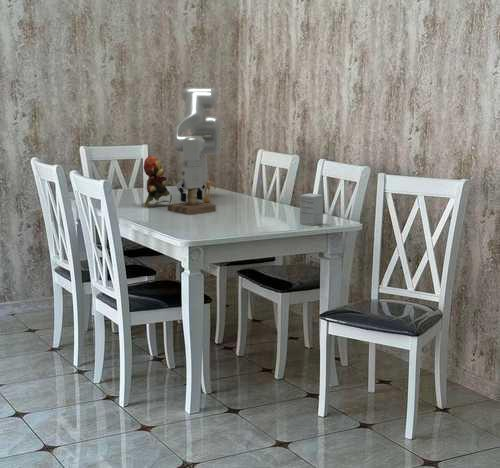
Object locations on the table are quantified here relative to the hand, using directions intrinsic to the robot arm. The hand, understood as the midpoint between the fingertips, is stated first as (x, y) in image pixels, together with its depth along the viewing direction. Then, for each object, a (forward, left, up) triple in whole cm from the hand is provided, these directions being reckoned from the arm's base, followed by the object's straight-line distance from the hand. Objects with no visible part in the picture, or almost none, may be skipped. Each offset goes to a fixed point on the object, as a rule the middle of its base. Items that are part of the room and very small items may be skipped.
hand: (191, 200), depth 386 cm
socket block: (0, 0, -5) cm, 5 cm away
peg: (0, 0, -5) cm, 5 cm away
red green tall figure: (-23, -3, -5) cm, 24 cm away
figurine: (-14, +22, -5) cm, 27 cm away
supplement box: (+61, +16, -5) cm, 63 cm away
